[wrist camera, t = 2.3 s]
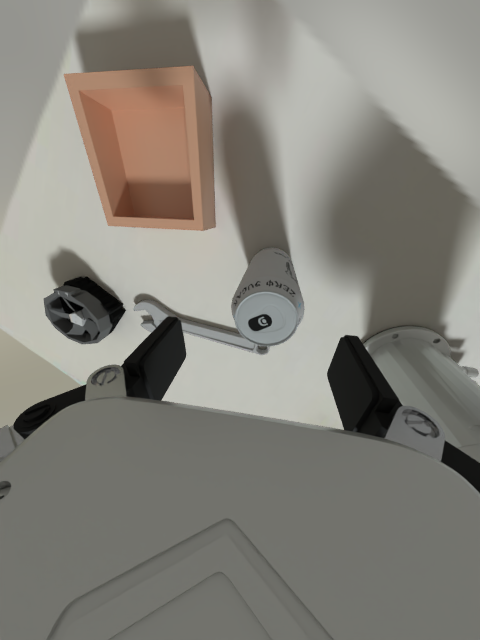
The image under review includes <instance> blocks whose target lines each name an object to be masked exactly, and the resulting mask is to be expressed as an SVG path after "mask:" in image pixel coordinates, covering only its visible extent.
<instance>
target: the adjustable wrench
mask: <svg viewBox="0 0 480 640" xmlns="http://www.w3.org/2000/svg"><path fill="white" fill-rule="evenodd" d="M133 309H134V311H139V310H146V311H147V312H148V313H149V314H150V315H151V316H152V318H153V320H150V321H144V322H143V323H142V324H141V326H142V327H143V328H144V329H146V330H148V331H150V332H153V331H154V330H155V329H156V328H157V327H158V326H159V324H160V323H161V322H162V321H163V320H164V319H165V318H166V317H168V316H170V317H177V318H178V319H179V320H181V324H182V330H183V333H187V334H190V335H194V336H197V337H201V338H204V339H208V340H211V341H215V342H218V343H221V344H225V345H228V346H232V347H235V348H239V349H242V350H246V351H249V352H253V353H256V354H260V355H265V354H267V353H268V352H269V346H267V348H266V349H265V350H261V349H259V348H258V345H256V344H253V343H251V342H249V341H248V340H246V339H245V338H244V337H243V336H242V335H241V334H239V333H235V332H231V331H227V330H224V329H220V328H216V327H212V326H208V325H205V324H201V323H197V322H193V321H189V320H186V319H183V318H180V317H178V316H176V315H175V314H173V313H171V312H170V311H168V310H167V309H166V308H164V307H163V306H162V305H160V304H159V303H157V302H155V301H153V300H143V301H141V302H139V303H138V304H137V305H135V307H134V308H133Z"/></svg>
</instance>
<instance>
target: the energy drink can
mask: <svg viewBox="0 0 480 640" xmlns="http://www.w3.org/2000/svg"><path fill="white" fill-rule="evenodd" d="M231 308H232V315H233V318H234V320H235V324H236V327H237V329H238V331H239V333H240V334H241V335H242V336H243V337H244V338H245V339H246V340H248V341H249V342H251V343H253V344H256V345H260V346H275V345H279V344H281V343H284V342H285V341H287V340H288V339H289V338H291V337H292V336H293V334H294V333H295V331H296V329H297V327H298V326H299V324H300V323H301V320H302V318H303V315H304V302H303V298H302V295H301V291H300V288H299V285H298V281H297V278H296V274H295V271H294V267H293V264H292V261H291V259H290V257H289V256H288V254H287V253H286V252H284V251H283V250H281V249H278V248H265V249H263V250H261V251H259V252H258V253H257V254H256V255H255V256H254V257H253V259H252V260H251V262H250V264H249V266H248V268H247V270H246V272H245V274H244V276H243V278H242V280H241V282H240V284H239V286H238V288H237V290H236V292H235V295H234V297H233V300H232V305H231Z"/></svg>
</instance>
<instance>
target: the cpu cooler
mask: <svg viewBox="0 0 480 640" xmlns="http://www.w3.org/2000/svg"><path fill="white" fill-rule="evenodd" d="M106 292H107V291H105V290H103V289H102V288H101V287H100V286H97V284H96V283H94V281H91V280H90V278H88V277H85V278H82V277H78V278H75V279H72V280H69V281H66V282H65V283H64V286H62V287H59V288H56V289H54V293H53V294H51V295H49V296H48V297H46V298H44V305H45V313H46V316H47V317H48V319H49V320H50V322H51V323H52V324H53V326H54V327H55V328H56V329H57V330H58V331H60V332H61V333H62V334H63V335H65V336H66V337H67V338H69V339H71V340H73V341H76V342H78V343H81V344H92V343H98V342H99V341H101V340H102V339H103V338H105V337H106V336H107V335H109V334H110V333H111V332H112V331H113V330H114V328H115V327H116V325H117V324H118V322H119V320H120V319H121V317H122V316H123V314H124V313H125V311H126V310H125V309H123V308H122V306H123V304H122V303H121V302H120V303H119V301H118V300H117V299H115V298H114V297H113V296H112V295H111V294H110V295H108V293H106Z"/></svg>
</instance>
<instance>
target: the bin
mask: <svg viewBox="0 0 480 640" xmlns="http://www.w3.org/2000/svg"><path fill="white" fill-rule="evenodd" d="M64 77H65V81H66V84H67V87H68V91H69V94H70V98H71V101H72V104H73V108H74V111H75V115H76V118H77V121H78V125H79V128H80V132H81V135H82V138H83V142H84V145H85V149H86V152H87V155H88V159H89V162H90V165H91V169H92V172H93V176H94V179H95V182H96V186H97V189H98V193H99V196H100V199H101V203H102V206H103V210H104V213H105V216H106V220H107V223H108V226H124V227H143V228H162V229H181V230H200V231H204V230H208V229H211V228H215V227H216V222H215V191H214V159H213V128H212V97H211V96H210V94H209V92H208V91H207V89H206V87H205V85H204V84H203V82H202V80H201V78H200V77H199V75H198V73H197V72H196V70H195V68H194V66H181V67H165V68H150V69H134V70H119V71H103V72H88V73H72V74H64Z"/></svg>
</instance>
